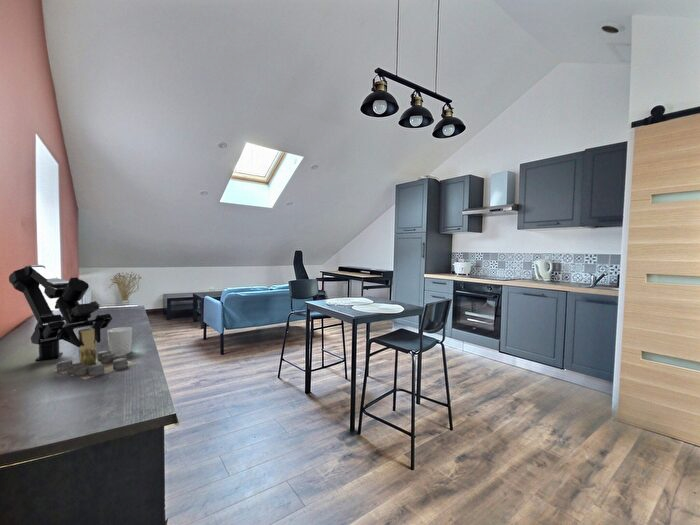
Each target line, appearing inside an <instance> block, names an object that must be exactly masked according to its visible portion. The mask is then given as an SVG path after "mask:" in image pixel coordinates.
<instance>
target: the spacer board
mask: <svg viewBox="0 0 700 525" xmlns="http://www.w3.org/2000/svg"><path fill="white" fill-rule="evenodd" d="M96 355H97V356H96V357H97V358H96V363H95V364H93V365H88V364H86V365H84V363H80V362H78V363H77V362H76V363H73V360H70V359H67V360H62V361H58V362H56V363H55V364H56V369H53V370H52V371H53V372H57V373H60V374H63V375H67V376H71V377H75V378H78V379H81V380H88V379H91V378H95V377H99V376H102V375H104V374H107V373H110V372H113V371H117V370H123V369H126V368H128V367H130V366H133V365H137V364H138V363H137V362H133V361H129V360H128V356H127V355H128V353H127V354H119V355H115V354H113V353H111V351H109V350H102V351H101V350H100V351H98V352H96Z"/></svg>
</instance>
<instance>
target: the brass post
mask: <svg viewBox="0 0 700 525" xmlns="http://www.w3.org/2000/svg"><path fill="white" fill-rule="evenodd" d="M77 334H78V340H79V341H80V344H81V346H80V347H78V353H79V354H78V357H79V363H84V365H86V364H88V365H93V364H95V363H96V359H97V358H96V357H97V356H96V355H97V352H96V340H95V329H94V328H90V327H89V328H81V329H80V330H79V329H78V332H77Z"/></svg>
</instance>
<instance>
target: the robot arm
mask: <svg viewBox="0 0 700 525" xmlns="http://www.w3.org/2000/svg"><path fill="white" fill-rule="evenodd" d="M8 281H9V283H10V284H11V285H12V288H14V290H16V291H18V292H21V293H22V294H23V296H24V298H25V299H26V301H27V304H28V305H29V307H30V310H31V311H32V312H31V313H33V316H34V317H35V320H36V324H35V326H34V331H33V333H32V335H31V336H30V341H31V344H32V345H33V344H34V345H38V356H37V357H36V358H35V361H36V362H37V361H43V360H44V361H45V360H53V359H59V358H60V357H61V356H62V355H63V352H60V341H61V340H62V341H65V342H67V343H69V344H72V345H74V346H75V347H77V348H79V347H80V346H81V344H80V341H79V337H78V336H77V335H76V334H75V330H76V329H83V328H87V327H89V328H94V329H95V342H96V343H99V344H100V343H101V337H102V336H101V329H102V330H103V329H106V328H107V327H108V326H109V324H110V323H111V322H112V320H113V316H112V315H111V314H110V313H102V314H97V315H96V316H95V319H91V317H92V314H93V313H95V312H96V311H98V310H99V309H100V305H99V303H98V302H97V300H94V301H90V302H88V303H81V304H80V303H79V301H81V300H83V298H84V296H85V294H86V293H87V291H88V289H89V288H90V286H89V283H87V281H85V280H82V279H79V278H78V277H75V276H74V277H70V278H69V280H67V279H63V278H58V277H57V276H56V275H55V274H53V273H52V272H50V271H49V270H48V269H46V266H45V265H42V264H29V265H25V266H24V267H23V268H20V269H17V270H14V271H12V273H10V274H9V276H8ZM40 285H41V286H42V287H43V288H44V291H43V292H42V290H41V288H40ZM43 293H44V294H45V295H46V297H47V298H48V299H51V300H52V299H56V301H55V306H54V309H55V310H59V312H60V314H59V313H58V314H54V313H53V311H52V310H51V308H50V307H51V306H50V305H49V303H48V301H47V299H46V298H45V295H44V294H43ZM89 319H90V320H89Z"/></svg>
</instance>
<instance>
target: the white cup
mask: <svg viewBox="0 0 700 525" xmlns="http://www.w3.org/2000/svg"><path fill="white" fill-rule="evenodd" d="M132 340H133V327H132V326H131V327H130V326H120V327H115V328H110V329H108V330H107V344H108V351H111V353H113V354H115V355H119V354H127V355H128V354H129V353H131V352H132V344H133V343H132Z"/></svg>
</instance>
